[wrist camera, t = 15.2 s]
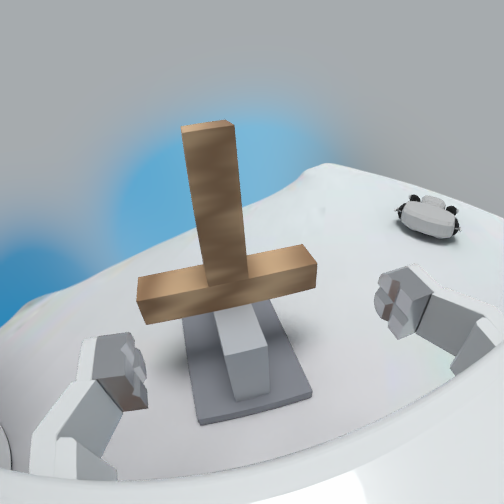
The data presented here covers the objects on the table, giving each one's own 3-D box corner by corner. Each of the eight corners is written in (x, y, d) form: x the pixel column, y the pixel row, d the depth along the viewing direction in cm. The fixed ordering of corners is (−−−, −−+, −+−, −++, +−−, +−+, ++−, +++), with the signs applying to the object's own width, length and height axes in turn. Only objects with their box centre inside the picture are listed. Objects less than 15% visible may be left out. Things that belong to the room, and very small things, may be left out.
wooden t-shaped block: (146, 324, 22) (90, 154, 14) (146, 300, 24) (101, 144, 17) (315, 287, 24) (321, 118, 17) (301, 267, 27) (302, 113, 19)
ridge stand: (200, 425, 22) (175, 377, 18) (183, 317, 34) (167, 261, 29) (311, 397, 24) (320, 342, 19) (266, 299, 35) (263, 241, 31)
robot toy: (405, 207, 56) (389, 231, 46) (408, 186, 54) (393, 206, 44) (457, 223, 50) (455, 253, 39) (462, 202, 47) (462, 227, 37)
